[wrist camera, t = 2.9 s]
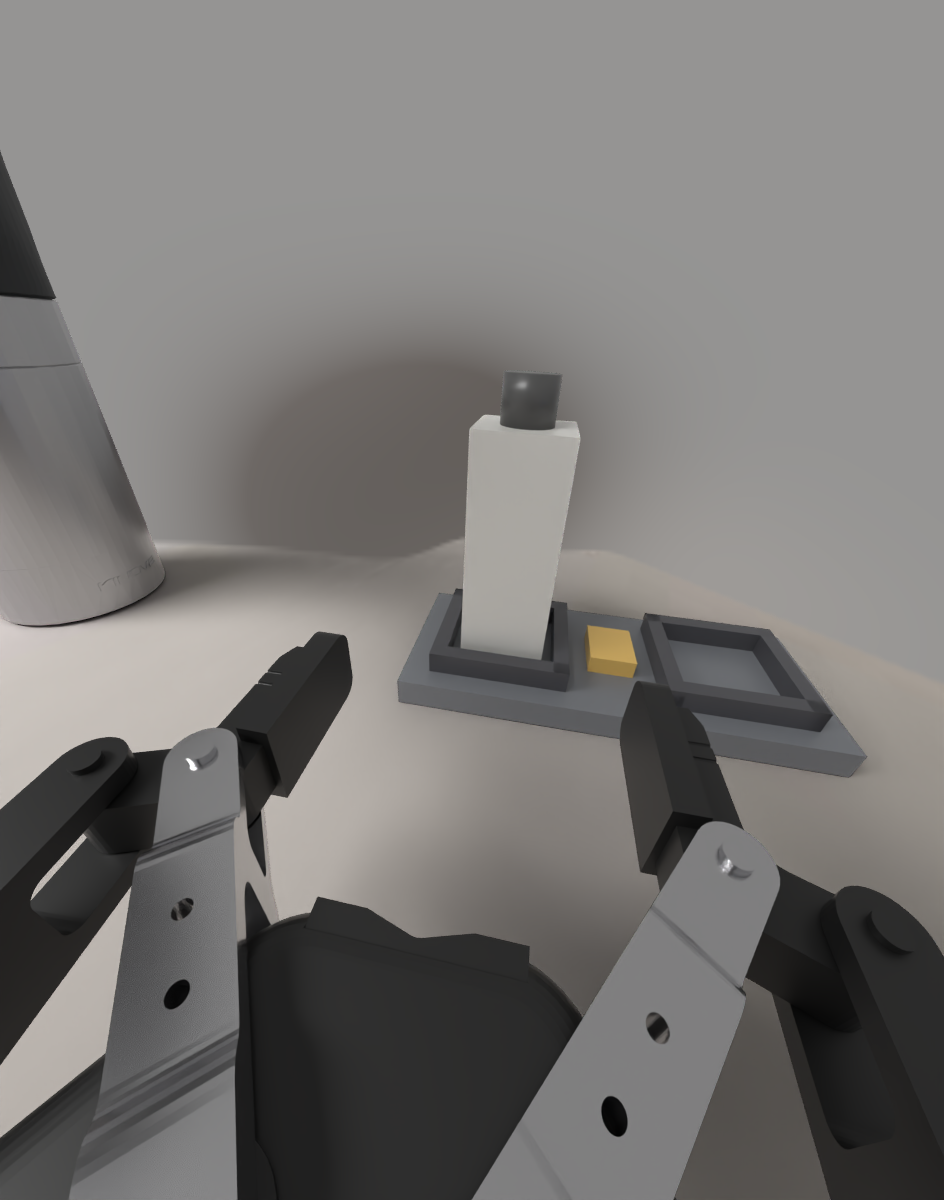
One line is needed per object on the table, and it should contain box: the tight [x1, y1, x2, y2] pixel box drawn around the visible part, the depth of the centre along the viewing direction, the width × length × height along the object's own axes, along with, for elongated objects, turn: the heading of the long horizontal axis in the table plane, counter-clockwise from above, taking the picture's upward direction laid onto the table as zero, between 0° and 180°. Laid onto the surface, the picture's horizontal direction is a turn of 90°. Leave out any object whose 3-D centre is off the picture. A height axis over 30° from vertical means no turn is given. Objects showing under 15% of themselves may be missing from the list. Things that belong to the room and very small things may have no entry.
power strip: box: [397, 589, 867, 777], centre depth 24 cm, size 22×9×3 cm, turn 80°
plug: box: [461, 371, 580, 660], centre depth 21 cm, size 4×4×14 cm
